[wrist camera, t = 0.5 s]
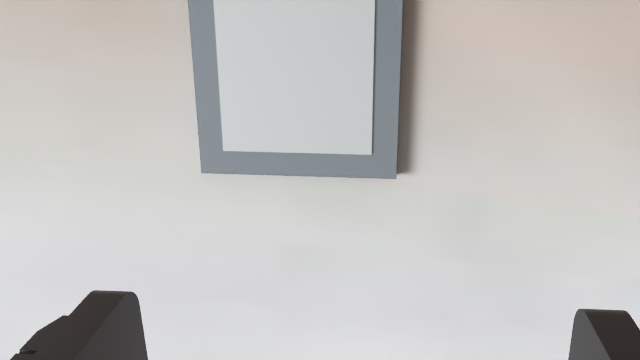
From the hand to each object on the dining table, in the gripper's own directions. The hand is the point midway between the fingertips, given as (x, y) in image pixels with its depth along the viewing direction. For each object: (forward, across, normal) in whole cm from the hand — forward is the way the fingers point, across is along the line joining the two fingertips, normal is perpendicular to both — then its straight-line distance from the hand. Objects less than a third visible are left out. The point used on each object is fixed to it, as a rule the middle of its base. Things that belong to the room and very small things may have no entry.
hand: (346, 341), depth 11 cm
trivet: (+25, +5, 0) cm, 26 cm away
